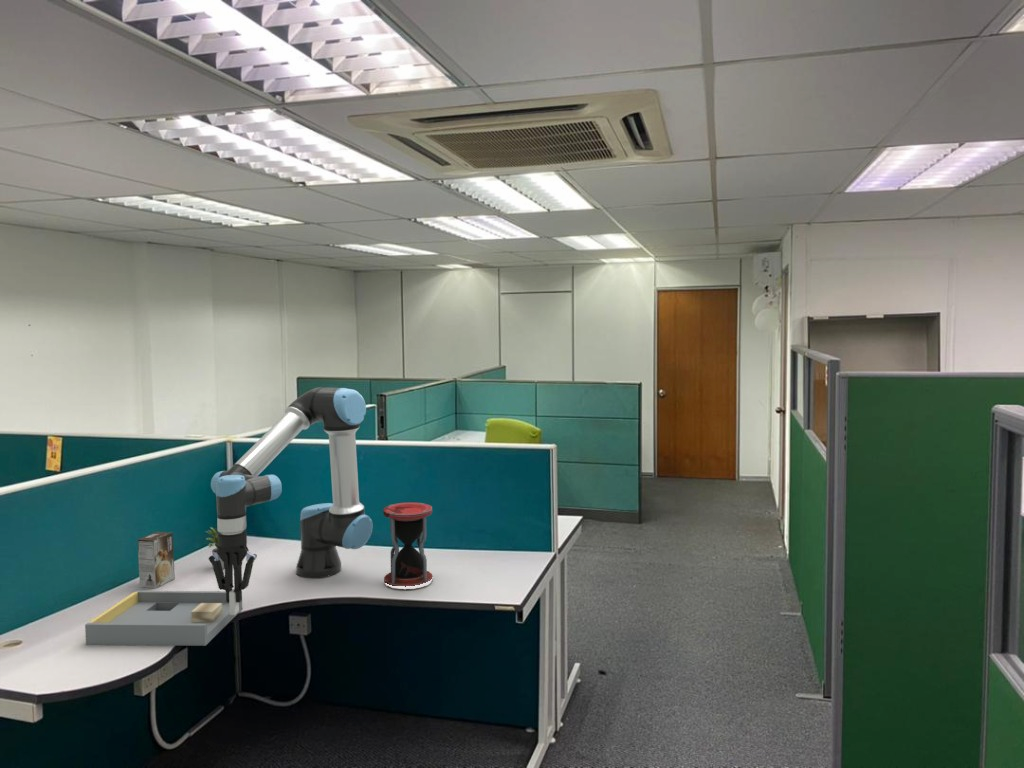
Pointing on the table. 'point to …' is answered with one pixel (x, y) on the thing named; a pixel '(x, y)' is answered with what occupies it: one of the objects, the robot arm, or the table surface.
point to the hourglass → (408, 544)
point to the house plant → (215, 543)
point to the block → (206, 612)
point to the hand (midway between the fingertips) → (234, 612)
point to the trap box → (158, 619)
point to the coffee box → (156, 559)
